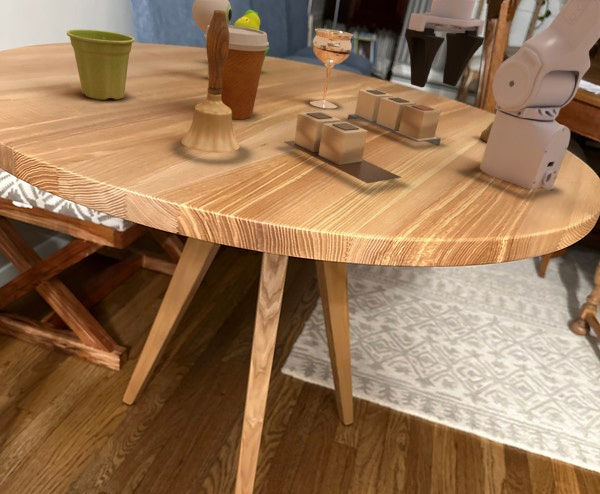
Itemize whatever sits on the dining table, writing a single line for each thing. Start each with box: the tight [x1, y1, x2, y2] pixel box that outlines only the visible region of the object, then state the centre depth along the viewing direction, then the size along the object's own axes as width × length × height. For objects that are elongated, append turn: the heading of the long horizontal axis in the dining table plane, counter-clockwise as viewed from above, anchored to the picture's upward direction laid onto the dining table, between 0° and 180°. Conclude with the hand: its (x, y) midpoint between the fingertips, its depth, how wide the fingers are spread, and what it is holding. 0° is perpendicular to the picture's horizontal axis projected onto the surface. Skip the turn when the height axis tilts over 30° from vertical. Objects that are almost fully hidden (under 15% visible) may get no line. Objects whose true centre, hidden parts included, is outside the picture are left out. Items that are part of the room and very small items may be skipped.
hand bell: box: [181, 10, 241, 154], centre depth 67 cm, size 8×8×16 cm
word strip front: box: [284, 111, 402, 184], centre depth 72 cm, size 16×6×5 cm, turn 39°
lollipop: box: [191, 0, 233, 80], centre depth 105 cm, size 7×7×15 cm
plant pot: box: [66, 29, 136, 101], centre depth 85 cm, size 9×9×9 cm
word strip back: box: [347, 88, 442, 146], centre depth 90 cm, size 15×6×5 cm, turn 39°
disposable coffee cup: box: [203, 24, 270, 120], centre depth 85 cm, size 10×10×12 cm
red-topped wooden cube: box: [399, 103, 442, 139], centre depth 87 cm, size 4×4×4 cm
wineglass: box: [309, 28, 354, 109], centre depth 99 cm, size 7×7×12 cm
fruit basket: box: [233, 9, 270, 66], centre depth 119 cm, size 11×9×11 cm
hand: (433, 85), depth 84 cm, fingers open, 7 cm apart
